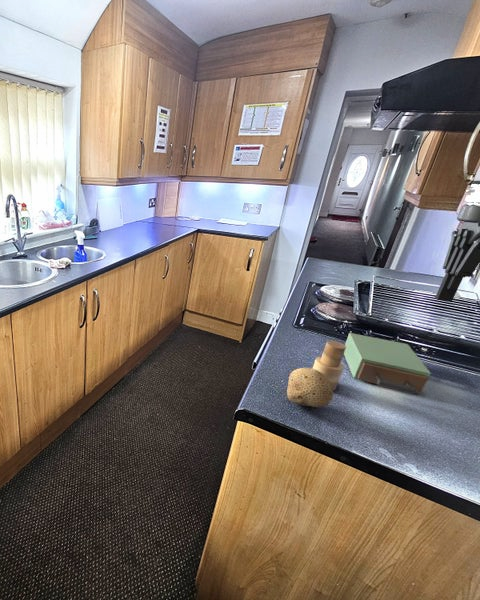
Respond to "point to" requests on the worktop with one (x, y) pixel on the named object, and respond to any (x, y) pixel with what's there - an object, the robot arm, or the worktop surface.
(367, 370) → the drawer
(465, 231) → the robot arm
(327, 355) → the stepped wooden peg
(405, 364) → the cabinet
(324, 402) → the natural sponge
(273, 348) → the worktop surface
